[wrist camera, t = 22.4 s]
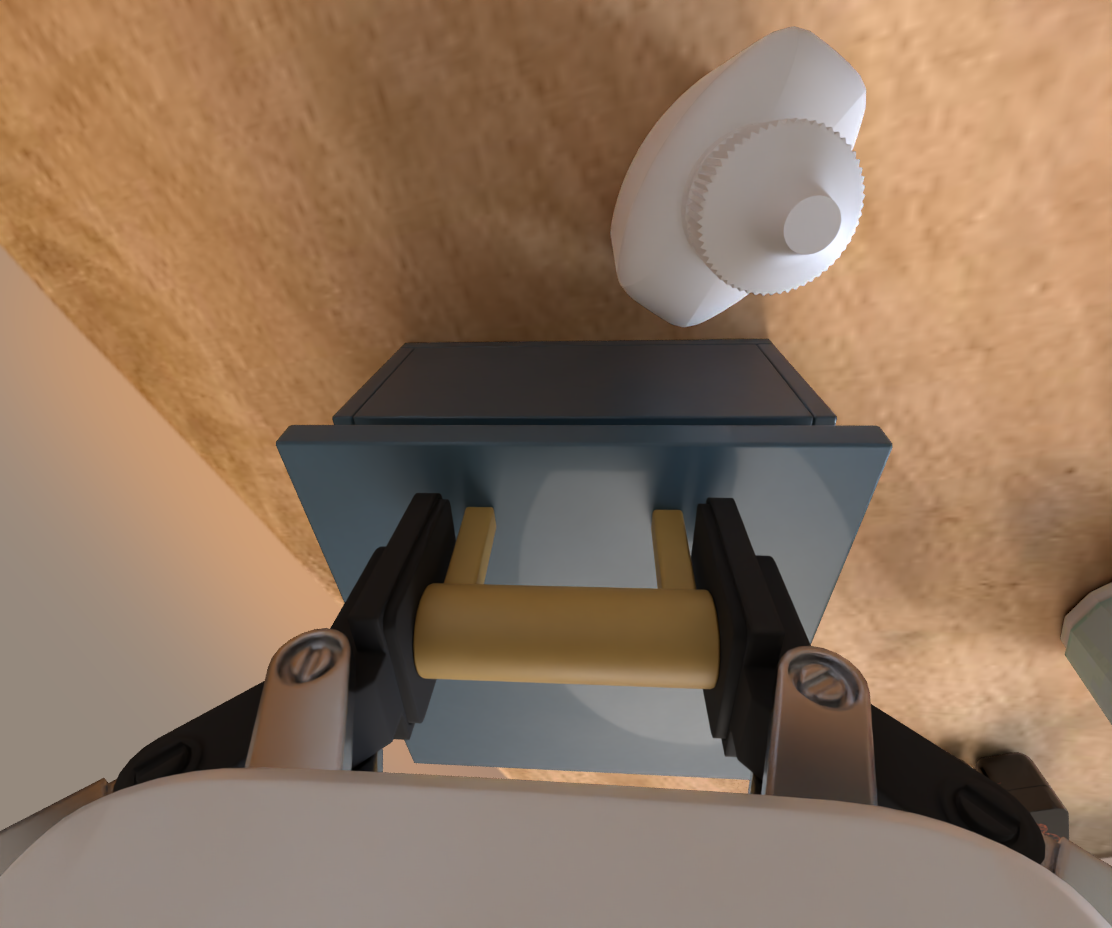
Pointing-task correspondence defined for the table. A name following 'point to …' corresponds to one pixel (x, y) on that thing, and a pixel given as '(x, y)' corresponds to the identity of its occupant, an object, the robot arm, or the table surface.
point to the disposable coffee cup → (1092, 644)
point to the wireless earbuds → (1028, 790)
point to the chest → (587, 385)
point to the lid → (582, 572)
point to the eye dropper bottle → (743, 181)
